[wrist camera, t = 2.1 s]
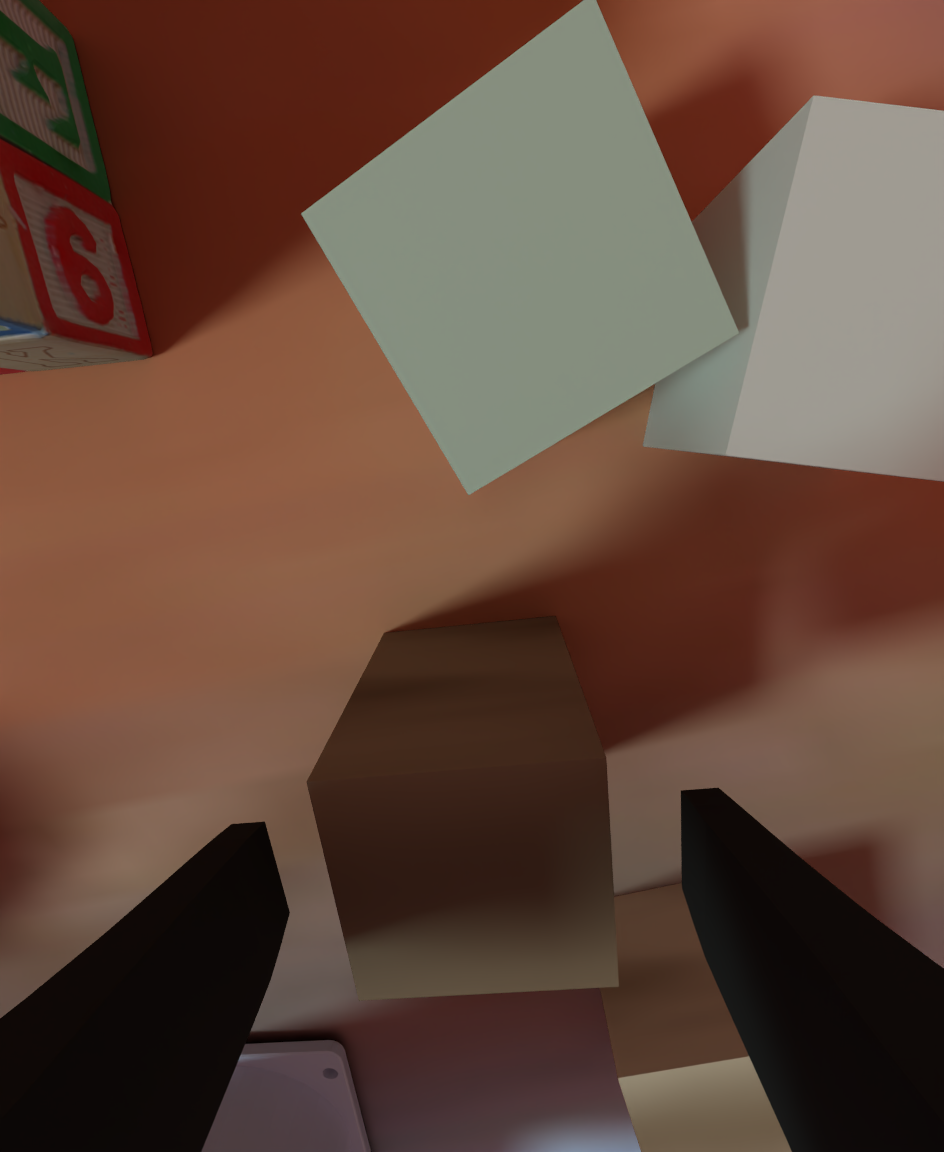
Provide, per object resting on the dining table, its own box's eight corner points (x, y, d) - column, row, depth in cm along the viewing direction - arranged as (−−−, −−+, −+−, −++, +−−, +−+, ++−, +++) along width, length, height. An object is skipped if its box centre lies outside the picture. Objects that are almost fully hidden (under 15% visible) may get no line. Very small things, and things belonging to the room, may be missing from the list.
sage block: (647, 370, 12) (739, 332, 7) (476, 473, 12) (468, 495, 8) (551, 170, 11) (592, -7, 6) (372, 296, 11) (300, 213, 7)
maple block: (753, 979, 16) (846, 1176, 12) (614, 1004, 17) (657, 1201, 13) (730, 870, 15) (825, 1044, 11) (582, 900, 16) (618, 1077, 11)
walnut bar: (567, 764, 14) (618, 986, 9) (410, 777, 15) (359, 1000, 9) (555, 615, 13) (606, 757, 7) (384, 632, 14) (306, 782, 8)
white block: (830, 468, 12) (1021, 490, 8) (641, 446, 12) (725, 455, 8) (896, 253, 11) (1164, 136, 7) (685, 228, 11) (813, 95, 7)
